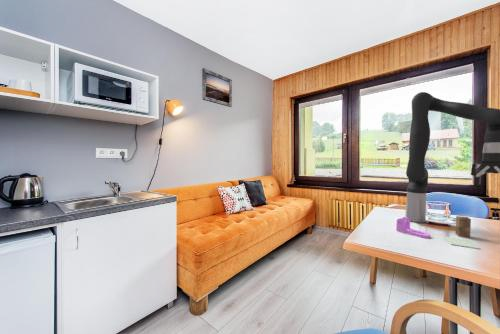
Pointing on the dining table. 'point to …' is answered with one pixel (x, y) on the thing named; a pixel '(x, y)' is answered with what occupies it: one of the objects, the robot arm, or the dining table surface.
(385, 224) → the dining table surface
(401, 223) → the bracket
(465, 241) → the mat
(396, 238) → the dining table surface
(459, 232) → the walnut block
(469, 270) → the dining table surface
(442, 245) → the dining table surface
